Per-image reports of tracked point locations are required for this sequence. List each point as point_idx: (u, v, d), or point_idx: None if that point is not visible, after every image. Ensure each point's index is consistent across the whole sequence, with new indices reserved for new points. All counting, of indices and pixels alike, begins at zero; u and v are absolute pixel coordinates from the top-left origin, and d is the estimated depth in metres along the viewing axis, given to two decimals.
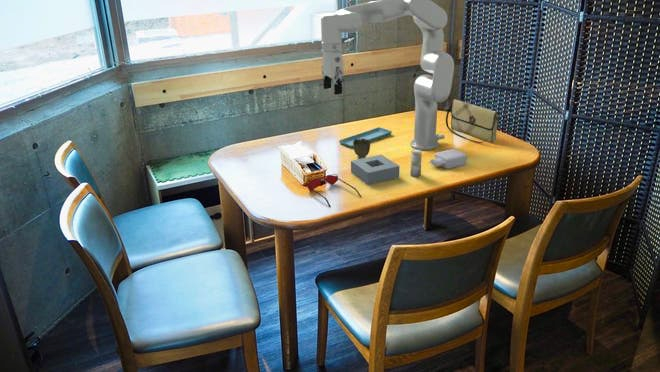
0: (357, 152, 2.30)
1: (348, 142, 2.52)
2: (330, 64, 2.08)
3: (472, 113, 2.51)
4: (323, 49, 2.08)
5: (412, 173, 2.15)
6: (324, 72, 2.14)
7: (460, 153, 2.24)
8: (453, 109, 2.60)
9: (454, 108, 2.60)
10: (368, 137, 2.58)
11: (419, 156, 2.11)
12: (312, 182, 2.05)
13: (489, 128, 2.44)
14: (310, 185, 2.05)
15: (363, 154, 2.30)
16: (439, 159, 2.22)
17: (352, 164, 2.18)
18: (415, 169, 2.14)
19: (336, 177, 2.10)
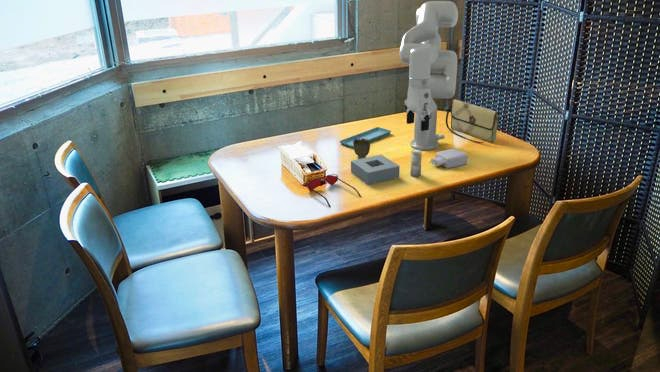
0: (357, 152, 2.30)
1: (349, 142, 2.52)
2: (418, 100, 2.00)
3: (472, 113, 2.51)
4: (411, 84, 2.00)
5: (412, 173, 2.15)
6: (410, 107, 2.06)
7: (461, 152, 2.25)
8: (453, 109, 2.60)
9: (454, 108, 2.60)
10: (368, 137, 2.58)
11: (419, 156, 2.11)
12: (312, 182, 2.05)
13: (489, 128, 2.44)
14: (310, 185, 2.05)
15: (363, 154, 2.30)
16: (440, 158, 2.23)
17: (352, 164, 2.18)
18: (415, 169, 2.14)
19: (336, 177, 2.10)
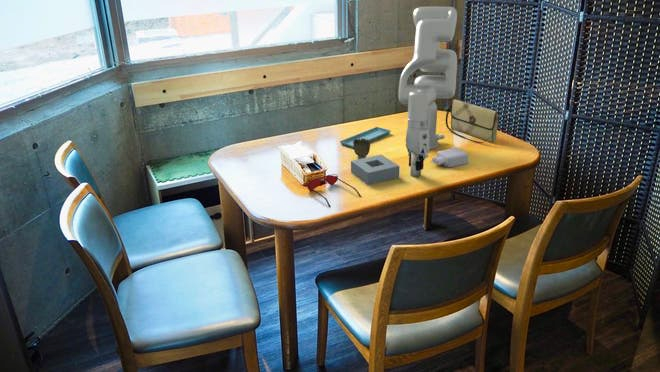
0: (357, 152, 2.30)
1: (349, 142, 2.52)
2: (416, 141, 2.07)
3: (472, 113, 2.51)
4: (410, 126, 2.06)
5: (412, 173, 2.15)
6: (408, 146, 2.13)
7: (462, 152, 2.25)
8: (453, 109, 2.60)
9: (453, 108, 2.60)
10: (368, 137, 2.58)
11: None
12: (312, 182, 2.05)
13: (489, 128, 2.44)
14: (310, 185, 2.05)
15: (363, 154, 2.30)
16: (440, 158, 2.24)
17: (352, 164, 2.18)
18: (415, 169, 2.14)
19: (336, 177, 2.10)
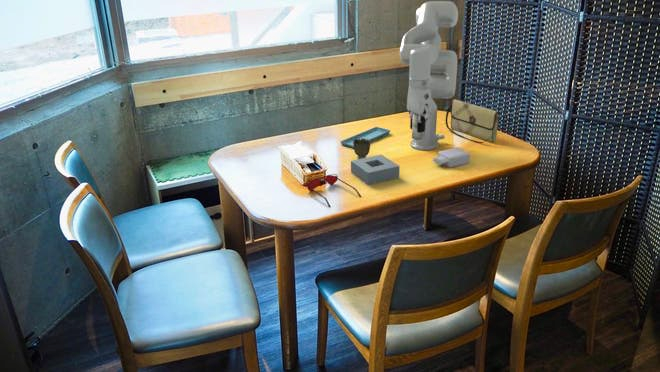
0: (357, 152, 2.30)
1: (349, 143, 2.52)
2: (418, 101, 2.00)
3: (472, 113, 2.51)
4: (411, 85, 2.00)
5: (413, 135, 2.09)
6: (410, 107, 2.06)
7: (463, 152, 2.25)
8: (453, 109, 2.60)
9: (453, 108, 2.60)
10: (367, 137, 2.58)
11: (421, 117, 2.05)
12: (312, 182, 2.05)
13: (490, 128, 2.44)
14: (310, 185, 2.05)
15: (363, 154, 2.30)
16: (442, 157, 2.24)
17: (352, 164, 2.18)
18: (416, 132, 2.07)
19: (336, 177, 2.10)
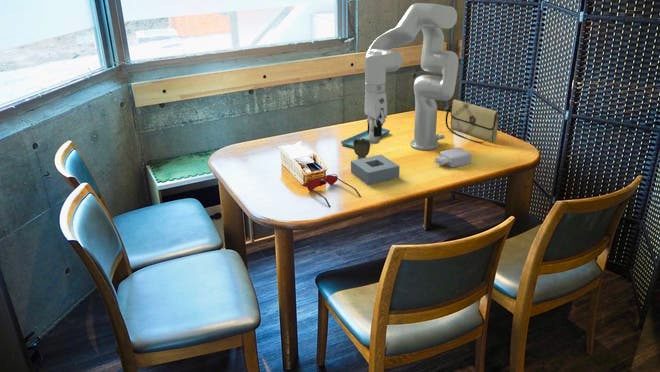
0: (357, 152, 2.30)
1: (349, 143, 2.51)
2: (373, 105, 2.02)
3: (472, 113, 2.51)
4: (367, 90, 2.01)
5: (370, 140, 2.10)
6: (367, 112, 2.08)
7: (465, 152, 2.25)
8: (453, 109, 2.60)
9: (453, 108, 2.60)
10: (367, 137, 2.58)
11: (377, 122, 2.07)
12: (312, 182, 2.05)
13: (490, 128, 2.44)
14: (310, 185, 2.05)
15: (363, 154, 2.30)
16: (444, 158, 2.24)
17: (352, 164, 2.18)
18: (373, 136, 2.09)
19: (335, 177, 2.10)
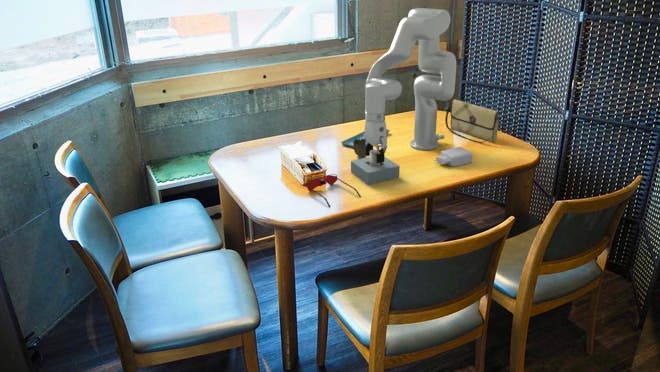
0: (357, 152, 2.30)
1: (350, 143, 2.51)
2: (373, 133, 2.07)
3: (472, 113, 2.51)
4: (367, 118, 2.06)
5: None
6: (367, 139, 2.13)
7: (466, 151, 2.26)
8: (453, 109, 2.60)
9: (453, 108, 2.60)
10: None
11: None
12: (311, 182, 2.05)
13: (490, 128, 2.44)
14: (309, 185, 2.05)
15: (363, 154, 2.30)
16: (445, 157, 2.24)
17: (352, 164, 2.18)
18: None
19: (335, 177, 2.10)
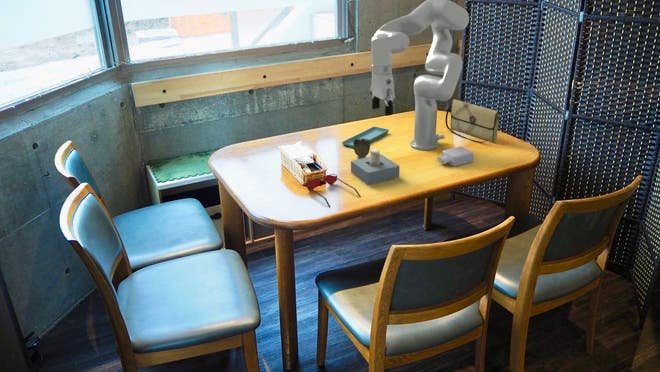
0: (357, 152, 2.30)
1: (350, 143, 2.51)
2: (381, 86, 2.08)
3: (472, 113, 2.51)
4: (374, 71, 2.07)
5: None
6: (374, 93, 2.14)
7: (467, 151, 2.26)
8: (453, 109, 2.60)
9: (453, 108, 2.60)
10: (367, 137, 2.58)
11: (377, 156, 2.13)
12: (311, 182, 2.05)
13: (490, 128, 2.45)
14: (309, 185, 2.05)
15: (363, 154, 2.30)
16: (446, 157, 2.25)
17: (352, 164, 2.18)
18: None
19: (335, 177, 2.10)
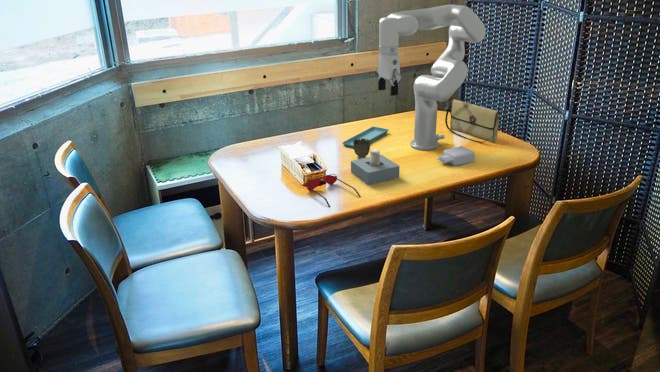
0: (357, 152, 2.30)
1: (351, 143, 2.51)
2: (387, 66, 2.15)
3: (472, 113, 2.51)
4: (381, 52, 2.14)
5: None
6: (380, 74, 2.21)
7: (468, 150, 2.27)
8: (452, 109, 2.60)
9: (453, 108, 2.60)
10: (367, 137, 2.58)
11: (377, 156, 2.13)
12: (311, 182, 2.05)
13: (490, 127, 2.45)
14: (309, 185, 2.05)
15: (363, 154, 2.30)
16: (447, 156, 2.25)
17: (352, 164, 2.18)
18: None
19: (335, 177, 2.10)
